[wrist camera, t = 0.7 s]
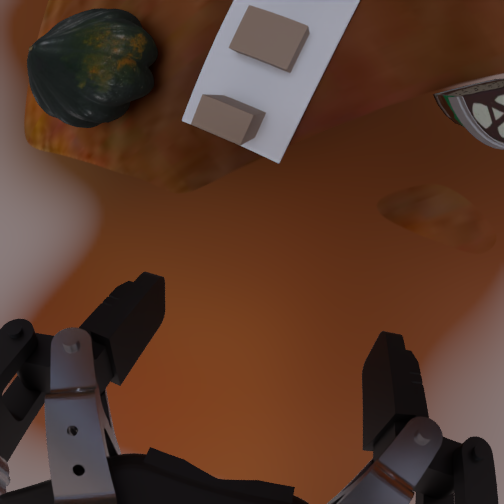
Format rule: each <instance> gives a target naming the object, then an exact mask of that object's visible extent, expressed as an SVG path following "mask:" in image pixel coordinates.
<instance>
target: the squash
mask: <svg viewBox="0 0 504 504" xmlns="http://www.w3.org/2000/svg"><path fill="white" fill-rule="evenodd" d="M157 56H158V51H157V47H156V45H155V42H154V40H153V38H152V37H151V36H150V35H149V34H148V33H147V32H146V31H145V30H144V29H142V26H141V23H140V21H139V20H138V19H137V18H136V17H135V16H134V15H132V14H131V13H129V12H127V11H124V10H119V9H91V10H88V11H84V12H81V13H79V14H75V15H73V16H71V17H69V18H67V19H64V20H63V21H61V22H59V23H58V24H57V25H55V26H54V27H53V28H52V29H51V30H50V31H49V32H48V33H46V34H45V35H44V36H43V37H41V38H40V39H38V40H37V41H36V42H35V43H34V44H33V45H32V46H31V47H30V48H29V54H28V59H27V68H28V76H29V83H30V87H31V90H32V93H33V95H34V97H35V99H36V101H37V103H38V104H39V106H40V107H41V108H42V109H43V110H44V111H45V112H46V113H47V114H49V115H50V116H53V117H56V118H58V119H60V120H61V121H63V122H64V123H66V124H69V125H72V126H75V127H83V128H91V127H95V126H97V125H99V124H101V123H104V122H111V121H113V120H115V119H118V118H119V117H121V116H122V115H123V114H124V113H125V112H126V111H127V110H128V108H129V106H130V101H133V100H136V99H139V98H141V97H143V96H145V95H147V94H148V93H149V92H150V91H151V90H152V88H153V87H154V78H153V75H152V73H151V71H150V69H149V66H151V65H152V64H153V63H154V62H155V60H156V58H157Z"/></svg>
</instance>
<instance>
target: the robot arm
mask: <svg viewBox="0 0 504 504" xmlns="http://www.w3.org/2000/svg"><path fill="white" fill-rule="evenodd" d="M164 315H165V280H164V277H162V276H158V275H154V274H151V273H148V272H143V273H142V274H141V275H140V276H139V277H138V278H137V279H136V280H135V281H134V282H131V281H128V282H126V283H124V284H122V285H120V286H118V287H116V288H115V290H114V291H113V292H112V293H111V294H110V295H109V297H107V298H106V299H105V300H104V301H103V303H102V304H100V305H99V306H98V307H97V308H96V310H95V311H94V312H93V313H92V314H91V315H90V316H89V317H88V318H87V319H86V320H85V321H84V323H83V324H82V325H81V326H80V327H79V328H67V329H64V330H62V331H60V332H58V333H57V334H56V335H55V336H51V335H44V334H39V333H35V331H34V328H33V326H32V324H31V323H30V322H29V321H27V320H25V319H15V320H12V321H9V322H8V323H6V324H5V325H4V326H3V327H2V328H1V329H0V504H308V503H307V502H306V501H304V500H302V499H300V498H298V497H296V496H294V495H293V493H294V488H295V487H291V486H285V485H280V484H274V483H269V482H264V481H259V480H222V479H217V478H215V477H213V476H211V475H209V474H208V473H206V472H204V471H202V470H200V469H199V468H197V467H195V466H194V465H192V464H190V463H189V462H187V461H185V460H184V459H181V458H178V457H175V456H172V455H169V454H167V453H164V452H161V451H159V450H156V449H154V448H151V447H150V449H149V451H148V453H147V455H146V454H122V455H121V453H120V449H119V446H118V443H117V440H116V437H115V433H114V428H113V424H112V419H111V414H110V409H109V403H108V398H107V392H106V387H107V385H108V384H109V382H110V381H111V382H113V383H115V384H118V385H121V384H122V382H123V381H124V379H125V378H126V376H127V375H128V373H129V372H130V370H131V369H132V367H133V366H134V364H135V362H136V361H137V360H138V358H139V356H140V355H141V353H142V352H143V351H144V349H145V347H146V346H147V344H148V343H149V342H150V340H151V339H152V337H153V336H154V334H155V333H156V331H157V329H158V328H159V327H160V325H161V323H162V321H163V318H164ZM16 373H17V375H18V376H17V377H16V378H15V380H14V381H13V382H12V384H11V385H10V386H9V388H8V389H7V390H6V392H5V393H4V394H3V396H2V393H3V390H4V389H5V387H6V386H7V384H8V383H9V382H10V380H11V379H12V378H13V377H14V375H15V374H16ZM362 389H363V450H366V451H373V459H372V460H371V461H370V462H369V463H368V464H367V465H366V466H365V467H364V468H363V469H362V470H361V471H360V472H359V474H358V475H357V476H356V477H355V478H354V479H353V480H352V481H351V482H350V483H349V484H348V485H347V486H346V487H345V488H344V489H343V490H342V491H341V492H340V493H339V494H338V495H337V496H335V497H334V498H333V499H332V500H331V501H330V502H328V504H409V503H410V501H411V500H412V498H413V496H414V492H413V491H415V492H416V504H498V494H497V484H496V475H495V467H494V460H493V453H492V450H491V447H490V446H489V444H488V443H487V442H486V441H485V440H484V439H482V438H480V437H470V438H468V439H467V440H466V441H465V442H464V443H462V444H461V443H458V442H456V441H453V440H450V439H447V438H445V437H443V436H442V432H441V429H440V427H439V426H438V425H437V424H436V423H435V422H434V421H433V420H431V419H429V416H428V410H427V404H426V398H425V393H424V388H423V385H422V378H421V375H420V369H419V364H418V361H417V359H416V358H415V356H414V355H413V353H412V352H411V351H409V350H406V349H405V345H404V340H403V337H402V335H400V334H395V333H389V332H385V331H382V332H381V333H380V334H379V336H378V338H377V340H376V342H375V344H374V346H373V348H372V349H371V351H370V353H369V355H368V357H367V359H366V361H365V363H364V367H363V371H362ZM44 403H45V424H46V438H47V449H48V458H49V466H50V474H51V480H47V481H44V482H41V483H38V484H35V485H32V486H29V487H25V488H22V489H18V490H15V491H11V492H7V493H6V486H8V485H9V483H10V477H9V467H8V464H7V462H8V460H9V458H10V457H11V455H12V453H13V452H14V450H15V448H16V446H17V445H18V443H19V442H20V440H21V439H22V437H23V435H24V434H25V432H26V430H27V429H28V427H29V426H30V424H31V422H32V421H33V419H34V418H35V416H36V415H37V413H38V411H39V410H40V409H41V407H42V406H43V404H44Z"/></svg>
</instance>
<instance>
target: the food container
mask: <svg viewBox="0 0 504 504" xmlns="http://www.w3.org/2000/svg"><path fill="white" fill-rule="evenodd" d="M434 98H435V100H436V102H437V104H438V106H439V107H440V108H441V110H442V111H443V112H444V114H445V115H446V116H448V117H449V118H450V119H451V120H452V121H453V122H455V123H457V124H459V125H461V126H463V127H465V128H466V129H467V130H468V131H469V132H470V133H471V134H472V135H473V136H474V137H475V138H477V139H478V140H479V141H481V142H482V143H484V144H486V145H488V146H490V147H493V148H497V149H504V79H494V80H490V81H485V82H481V83H477V84H472V85H468V86H464V87H460V88H456V89H452V90H449V91H444V92H441V93H437V94H434Z"/></svg>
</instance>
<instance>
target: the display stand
mask: <svg viewBox="0 0 504 504" xmlns="http://www.w3.org/2000/svg"><path fill="white" fill-rule="evenodd" d="M359 2H360V0H234V1H233V3H232V5H231V7H230V9H229V11H228V13H227V15H226V17H225V19H224V21H223V23H222V25H221V28H220V30H219V32H218V34H217V36H216V38H215V41H214V43H213V45H212V47H211V49H210V52H209V54H208V56H207V59H206V61H205V63H204V66H203V68H202V70H201V73H200V75H199V78H198V80H197V82H196V85H195V87H194V90H193V92H192V95H191V97H190V100H189V103H188V105H187V108H186V110H185V113H184V116H183V119H182V121H183V122H186V123H188V124H191V125H193V126H196V127H198V128H201V129H203V130H205V131H208V132H210V133H212V134H215V135H217V136H219V137H222V138H224V139H226V140H229V141H231V142H233V143H235V144H238V145H240V146H242V147H244V148H246V149H249V150H251V151H253V152H255V153H257V154H259V155H262V156H264V157H266V158H268V159H270V160H272V161H274V162H277V163H279V162H280V161H281V159H282V157H283V155H284V153H285V151H286V149H287V147H288V145H289V143H290V141H291V139H292V137H293V135H294V133H295V130H296V128H297V126H298V124H299V122H300V120H301V118H302V116H303V114H304V112H305V110H306V108H307V106H308V104H309V102H310V100H311V98H312V96H313V94H314V92H315V90H316V88H317V86H318V84H319V82H320V80H321V78H322V76H323V74H324V71H325V69H326V67H327V65H328V63H329V61H330V59H331V57H332V55H333V53H334V51H335V49H336V47H337V45H338V43H339V41H340V39H341V37H342V35H343V33H344V31H345V30H346V28H347V26H348V24H349V22H350V20H351V18H352V16H353V14H354V12H355V10H356V8H357V6H358V4H359Z"/></svg>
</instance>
